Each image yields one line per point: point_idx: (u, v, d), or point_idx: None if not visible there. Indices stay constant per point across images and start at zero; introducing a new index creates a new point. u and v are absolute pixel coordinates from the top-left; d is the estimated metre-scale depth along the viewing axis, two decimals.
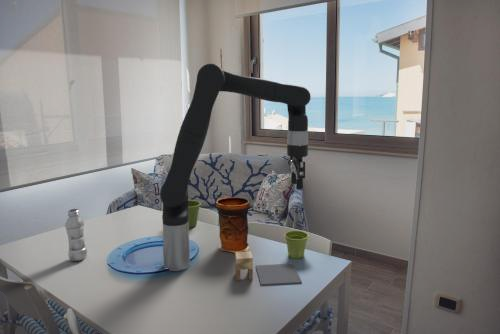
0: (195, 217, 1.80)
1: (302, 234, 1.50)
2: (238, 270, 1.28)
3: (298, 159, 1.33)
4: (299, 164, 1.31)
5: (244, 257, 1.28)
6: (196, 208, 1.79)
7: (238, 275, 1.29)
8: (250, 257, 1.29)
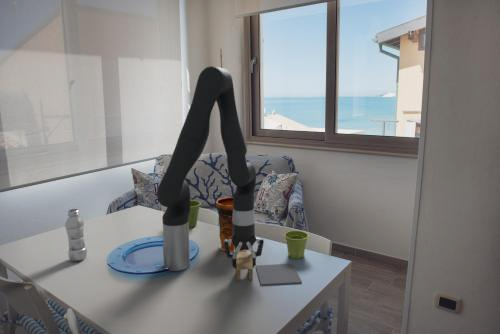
0: (195, 217, 1.80)
1: (302, 234, 1.50)
2: (238, 270, 1.28)
3: (254, 236, 1.29)
4: None
5: (244, 257, 1.29)
6: (196, 208, 1.79)
7: (238, 275, 1.29)
8: (250, 257, 1.29)
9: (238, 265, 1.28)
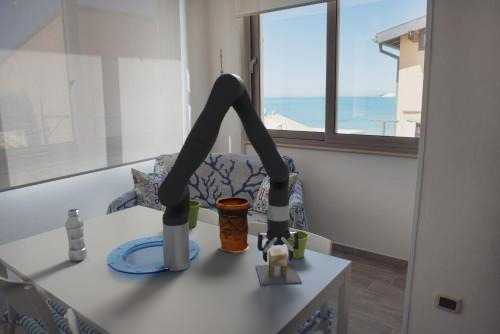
0: (195, 217, 1.80)
1: (302, 234, 1.50)
2: (272, 267, 1.29)
3: None
4: None
5: (278, 254, 1.30)
6: (196, 208, 1.79)
7: (272, 272, 1.30)
8: (284, 254, 1.30)
9: (272, 262, 1.29)
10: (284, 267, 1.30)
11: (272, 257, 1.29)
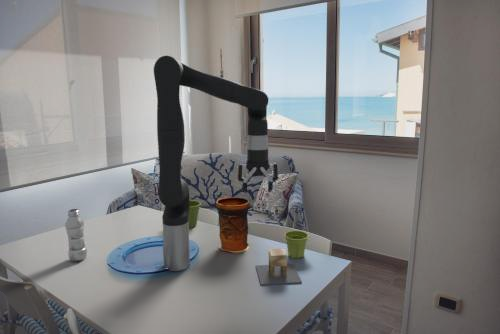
0: (195, 217, 1.80)
1: (302, 234, 1.50)
2: (272, 267, 1.29)
3: None
4: None
5: (278, 254, 1.30)
6: (196, 208, 1.79)
7: (272, 272, 1.30)
8: (284, 254, 1.30)
9: (272, 262, 1.29)
10: (284, 267, 1.30)
11: (272, 257, 1.29)
